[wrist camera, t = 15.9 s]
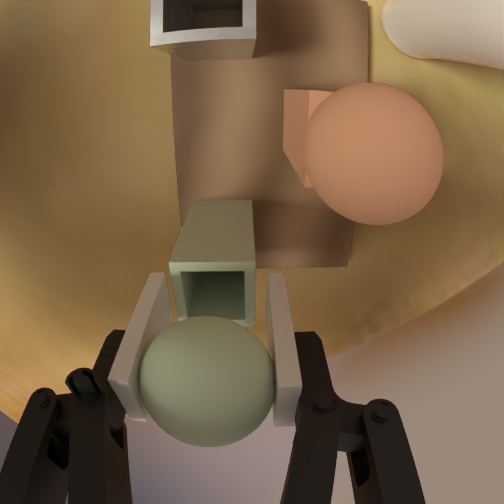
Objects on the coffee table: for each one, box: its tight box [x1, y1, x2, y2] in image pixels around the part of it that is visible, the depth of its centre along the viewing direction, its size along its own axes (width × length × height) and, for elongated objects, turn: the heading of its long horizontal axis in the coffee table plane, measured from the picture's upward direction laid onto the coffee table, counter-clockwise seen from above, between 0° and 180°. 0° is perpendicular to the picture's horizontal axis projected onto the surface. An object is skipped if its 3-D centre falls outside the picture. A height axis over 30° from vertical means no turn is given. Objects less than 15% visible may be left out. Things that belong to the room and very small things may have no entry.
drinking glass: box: [381, 0, 504, 70], centre depth 9 cm, size 7×7×15 cm
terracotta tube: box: [283, 89, 334, 188], centre depth 15 cm, size 4×4×8 cm
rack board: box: [171, 0, 368, 268], centre depth 19 cm, size 12×20×1 cm, turn 0°
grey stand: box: [150, 0, 256, 61], centre depth 12 cm, size 4×4×8 cm
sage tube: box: [169, 200, 255, 327], centre depth 19 cm, size 4×4×8 cm
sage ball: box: [140, 316, 275, 447], centre depth 11 cm, size 5×5×5 cm
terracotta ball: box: [303, 82, 444, 225], centre depth 10 cm, size 5×5×5 cm
